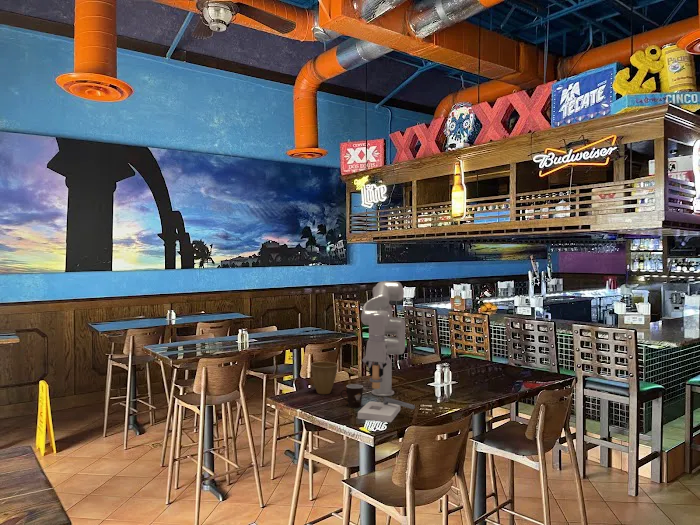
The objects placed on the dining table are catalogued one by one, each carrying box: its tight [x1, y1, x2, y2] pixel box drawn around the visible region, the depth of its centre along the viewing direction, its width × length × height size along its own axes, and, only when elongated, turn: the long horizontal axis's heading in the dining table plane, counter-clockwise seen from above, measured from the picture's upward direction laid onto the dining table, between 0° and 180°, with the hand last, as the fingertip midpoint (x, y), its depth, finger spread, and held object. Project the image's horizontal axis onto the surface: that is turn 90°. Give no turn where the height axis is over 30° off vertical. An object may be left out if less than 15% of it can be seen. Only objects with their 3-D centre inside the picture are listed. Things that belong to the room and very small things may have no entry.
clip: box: [382, 396, 416, 410], centre depth 254 cm, size 19×2×3 cm, turn 42°
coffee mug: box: [339, 383, 364, 409], centre depth 267 cm, size 12×9×10 cm
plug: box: [368, 362, 383, 390], centre depth 254 cm, size 6×6×12 cm
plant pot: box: [310, 361, 339, 395], centre depth 291 cm, size 15×15×16 cm
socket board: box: [357, 400, 401, 423], centre depth 253 cm, size 20×16×3 cm
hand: (376, 375), depth 254 cm, fingers closed on plug, 4 cm apart
